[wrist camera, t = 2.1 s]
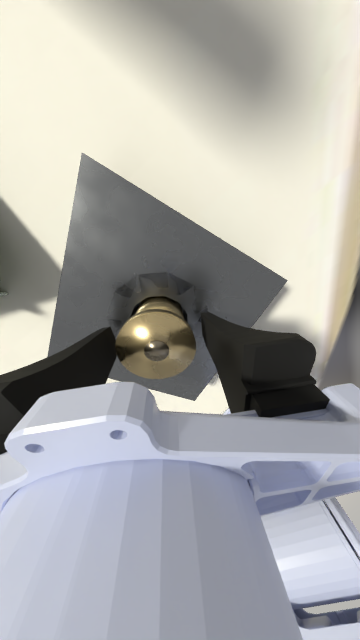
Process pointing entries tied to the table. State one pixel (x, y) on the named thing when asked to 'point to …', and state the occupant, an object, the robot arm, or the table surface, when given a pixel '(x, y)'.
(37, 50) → the table surface
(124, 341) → the round door knob
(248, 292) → the grey flat block
